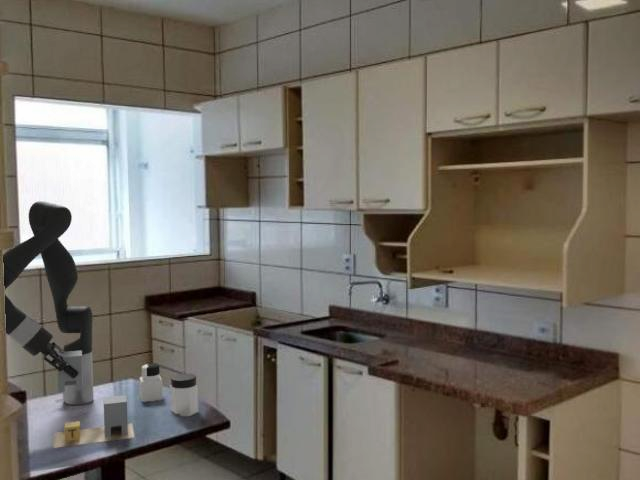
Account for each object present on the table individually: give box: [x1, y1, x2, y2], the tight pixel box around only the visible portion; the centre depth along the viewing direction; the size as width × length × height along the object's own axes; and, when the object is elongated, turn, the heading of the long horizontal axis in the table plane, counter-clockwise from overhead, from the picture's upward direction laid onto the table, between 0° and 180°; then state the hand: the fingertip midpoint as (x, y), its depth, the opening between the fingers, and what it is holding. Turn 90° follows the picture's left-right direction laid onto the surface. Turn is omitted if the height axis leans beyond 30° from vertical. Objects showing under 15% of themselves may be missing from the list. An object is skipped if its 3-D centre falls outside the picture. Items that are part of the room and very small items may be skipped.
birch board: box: [52, 423, 136, 449], centre depth 187 cm, size 22×12×1 cm, turn 110°
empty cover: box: [103, 394, 129, 438], centre depth 189 cm, size 6×6×10 cm
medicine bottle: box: [139, 363, 164, 403], centre depth 223 cm, size 7×7×12 cm
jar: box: [169, 373, 199, 418], centre depth 208 cm, size 9×8×12 cm
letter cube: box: [64, 420, 81, 441], centre depth 185 cm, size 4×4×4 cm
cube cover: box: [57, 350, 83, 393], centre depth 183 cm, size 6×6×10 cm
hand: (76, 372), depth 184 cm, fingers closed on cube cover, 6 cm apart
